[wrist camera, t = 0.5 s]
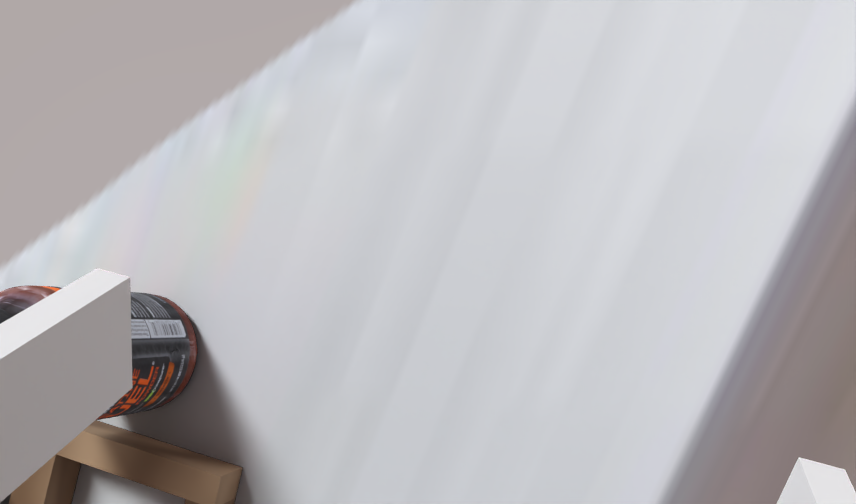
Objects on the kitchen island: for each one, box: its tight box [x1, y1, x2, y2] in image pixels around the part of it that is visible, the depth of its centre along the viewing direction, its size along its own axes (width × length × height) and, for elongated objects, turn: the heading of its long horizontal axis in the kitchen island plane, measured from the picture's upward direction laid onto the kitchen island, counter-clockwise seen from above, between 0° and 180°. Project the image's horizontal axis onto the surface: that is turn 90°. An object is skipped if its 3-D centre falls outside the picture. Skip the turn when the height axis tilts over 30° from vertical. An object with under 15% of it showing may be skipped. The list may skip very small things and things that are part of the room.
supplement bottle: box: [0, 286, 197, 420], centre depth 30 cm, size 6×6×11 cm
